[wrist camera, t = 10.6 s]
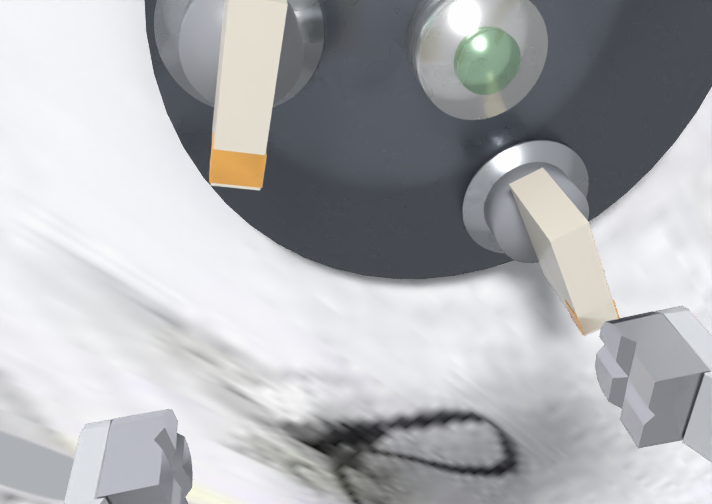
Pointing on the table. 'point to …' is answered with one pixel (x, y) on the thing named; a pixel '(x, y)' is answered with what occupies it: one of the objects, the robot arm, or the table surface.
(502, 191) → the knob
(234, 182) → the cream block orange corner
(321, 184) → the tribrach disc
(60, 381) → the table surface
